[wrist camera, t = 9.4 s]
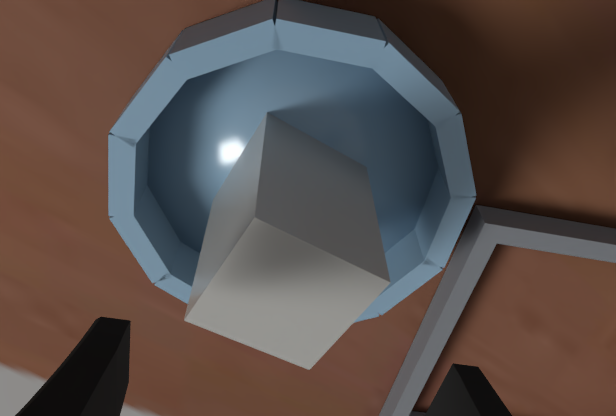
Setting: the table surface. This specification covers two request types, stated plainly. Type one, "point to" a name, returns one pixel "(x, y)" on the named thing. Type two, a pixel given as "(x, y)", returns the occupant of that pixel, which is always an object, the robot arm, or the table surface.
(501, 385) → the table surface
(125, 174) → the bowl
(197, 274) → the stone block
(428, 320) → the tray
